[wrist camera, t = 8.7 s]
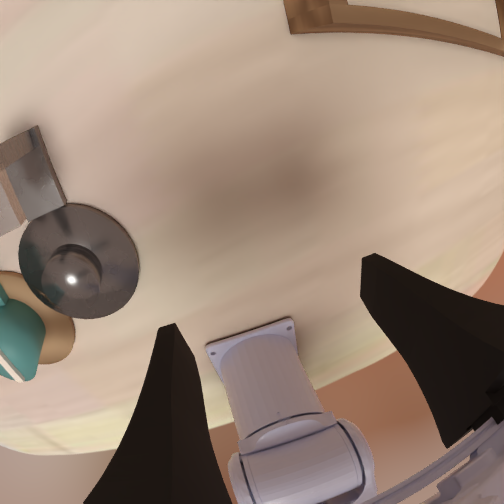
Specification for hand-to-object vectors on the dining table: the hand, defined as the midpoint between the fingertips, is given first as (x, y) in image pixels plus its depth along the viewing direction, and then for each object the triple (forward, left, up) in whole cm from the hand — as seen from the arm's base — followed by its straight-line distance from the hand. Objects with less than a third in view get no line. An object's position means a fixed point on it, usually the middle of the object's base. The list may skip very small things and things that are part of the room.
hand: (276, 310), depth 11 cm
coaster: (-4, +19, -10) cm, 22 cm away
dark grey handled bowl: (+2, +11, -10) cm, 15 cm away
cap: (-1, +19, -9) cm, 21 cm away
